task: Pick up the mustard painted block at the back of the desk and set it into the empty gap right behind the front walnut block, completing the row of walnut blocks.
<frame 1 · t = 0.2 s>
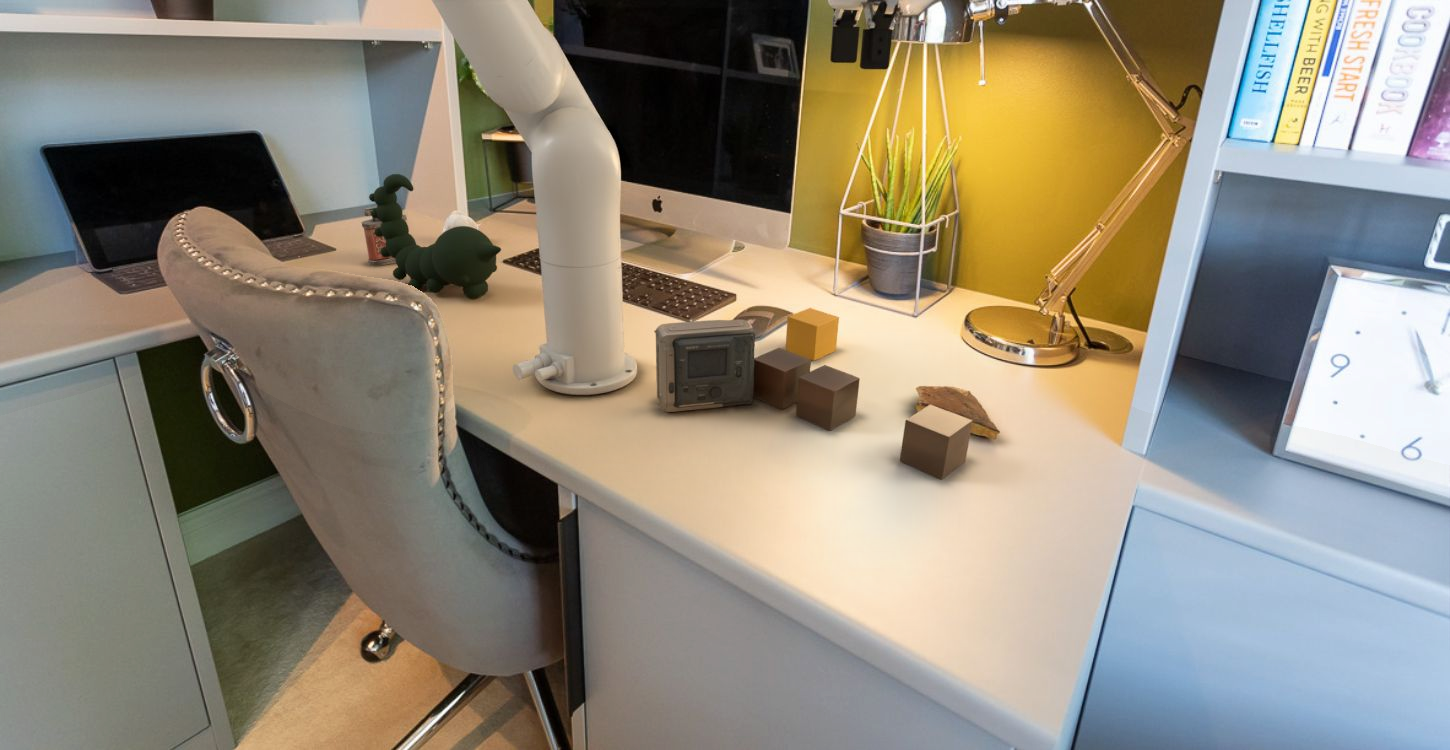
hand: (857, 65, 90), 37 cm above the table, tool pointing down, fingers open, 9 cm apart
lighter: (391, 261, 140), on the table
line block 2: (825, 416, 91), on the table
mustard block: (810, 350, 108), on the table
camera: (704, 405, 93), on the table
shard: (961, 415, 93), on the table
toy figurine: (445, 291, 127), on the table
line block 1: (932, 461, 83), on the table
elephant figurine: (464, 244, 151), on the table
line block 3: (779, 396, 95), on the table
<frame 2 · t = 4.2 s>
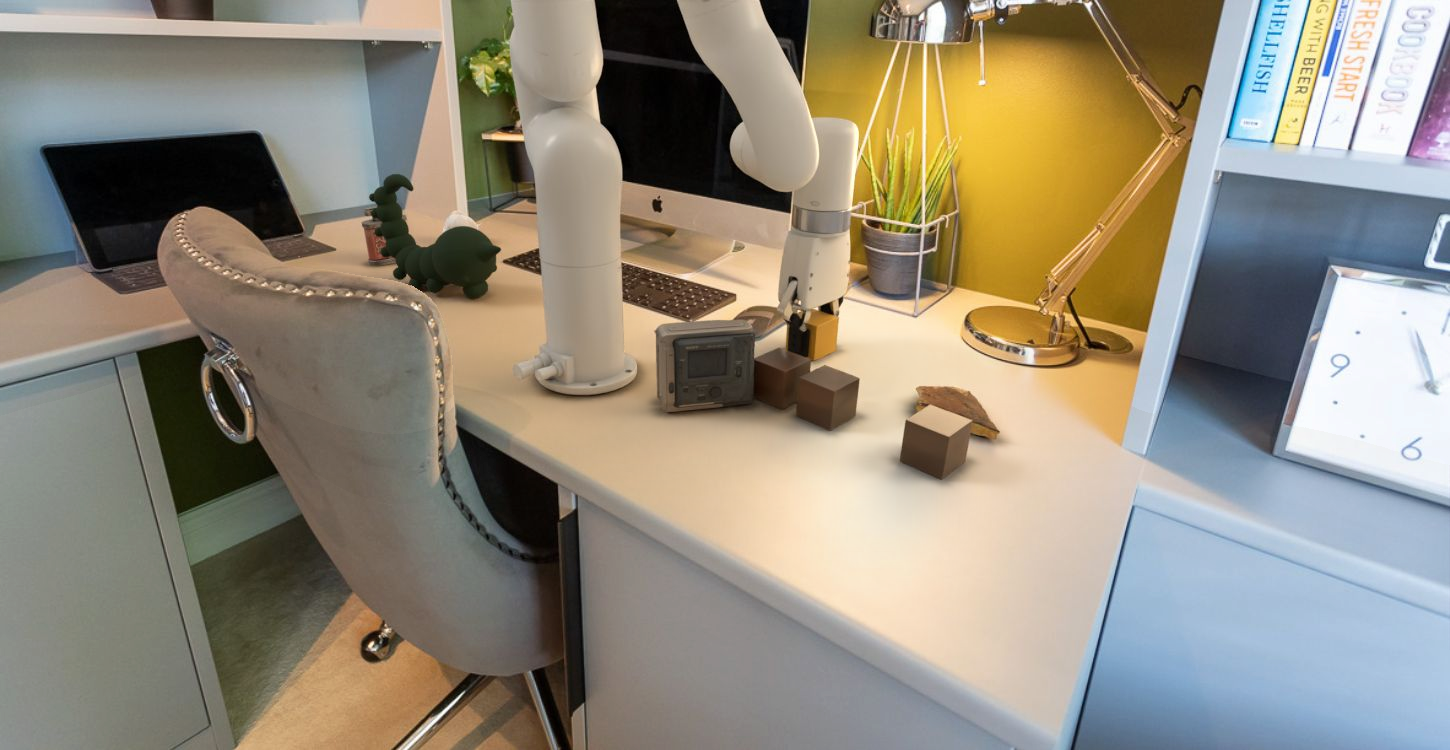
hand: (810, 347, 108), 0 cm above the table, tool pointing down, fingers closed on mustard block, 5 cm apart
mustard block: (810, 350, 108), on the table, touching gripper
everything else where it was.
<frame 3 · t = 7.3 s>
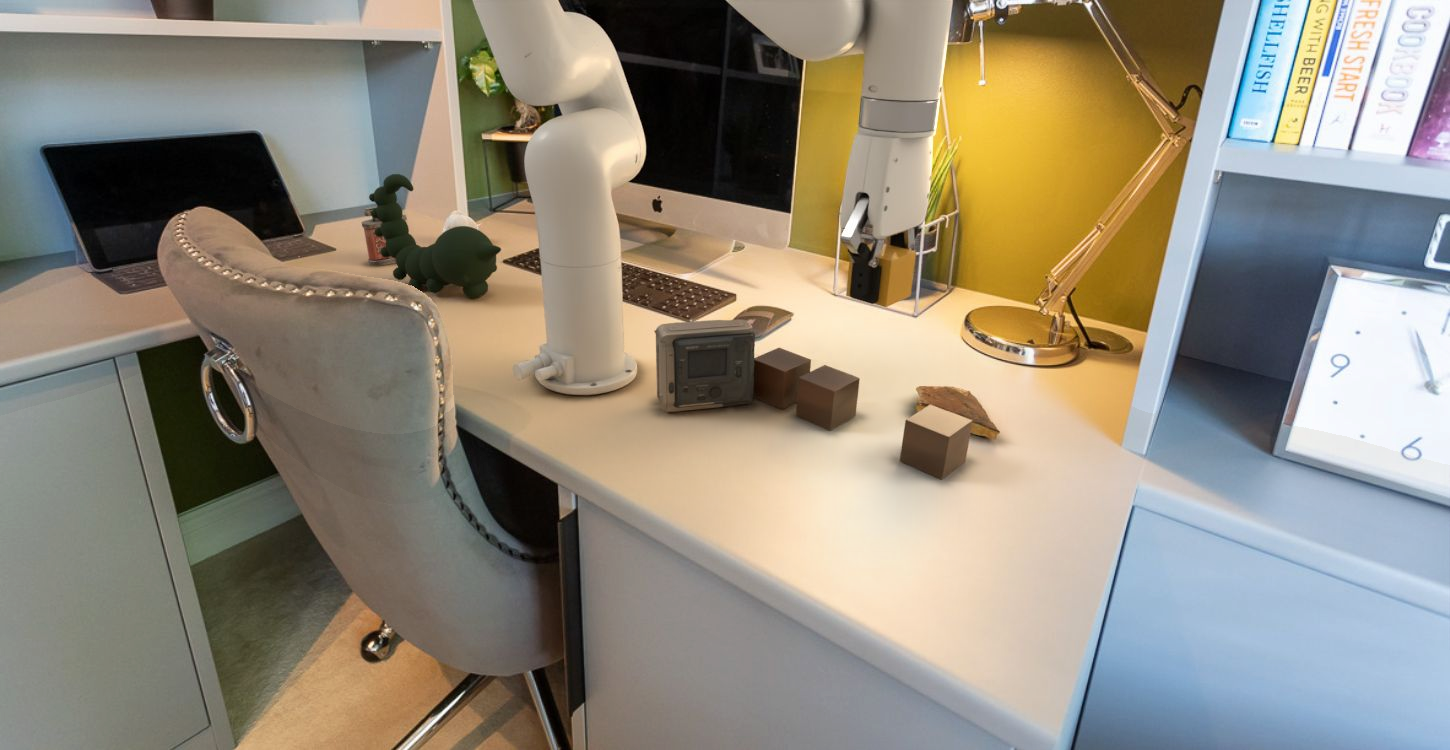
hand: (878, 292, 84), 16 cm above the table, tool pointing down, fingers closed on mustard block, 5 cm apart
mustard block: (878, 296, 84), point 15 cm above the table, touching gripper
everything else where it was.
when the fingers open (0 cm above the table, at t = 10.7 s): mustard block stays where it is, on the table.
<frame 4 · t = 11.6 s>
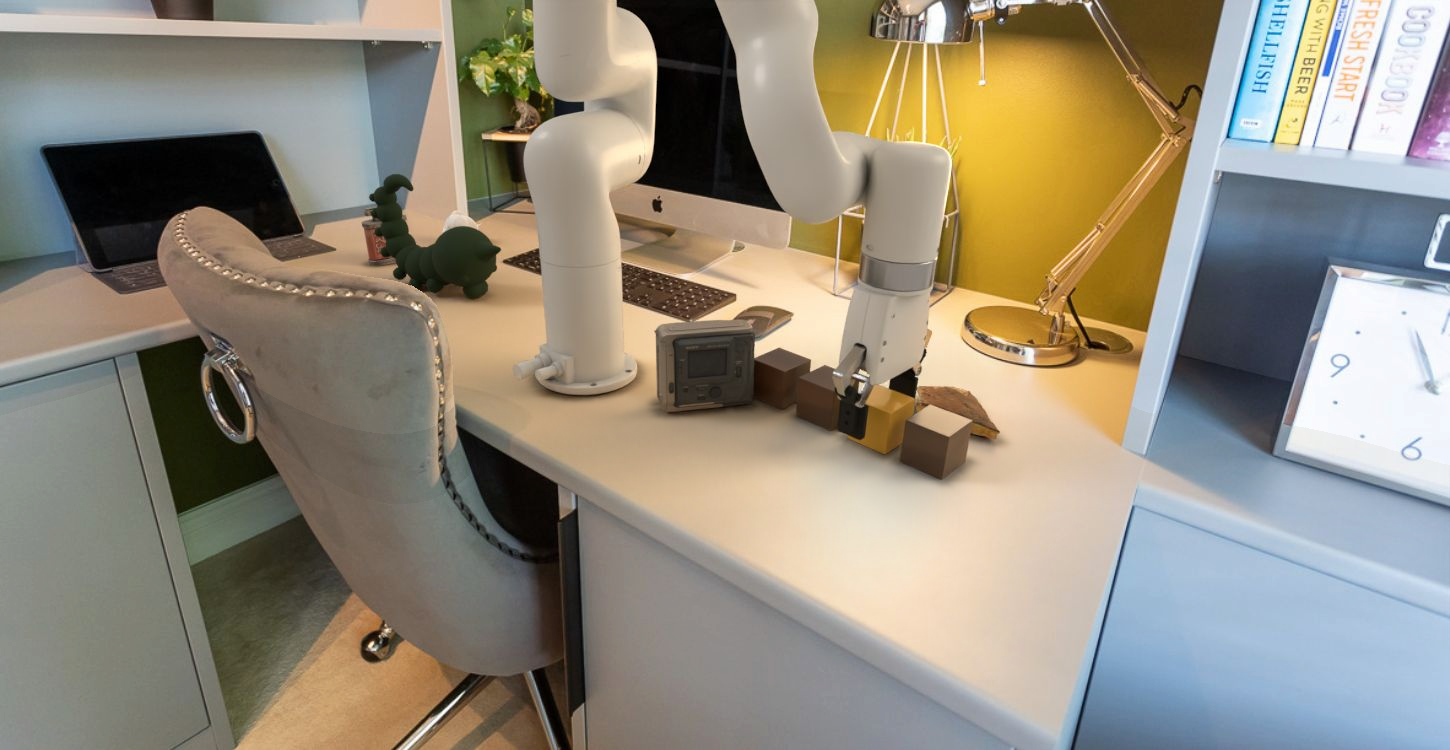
hand: (876, 419, 86), 2 cm above the table, tool pointing down, fingers open, 9 cm apart
mustard block: (878, 438, 87), on the table
everything else where it was.
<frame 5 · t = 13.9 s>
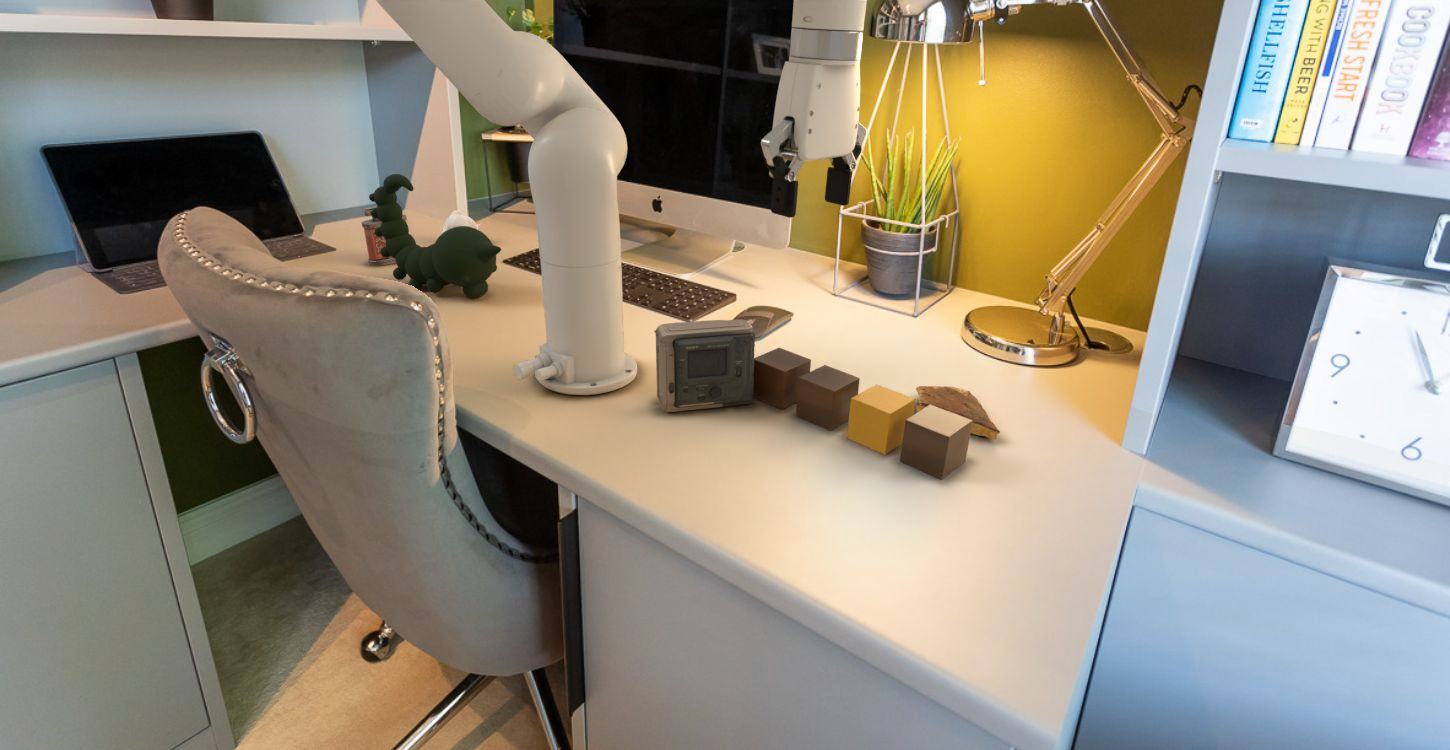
hand: (810, 208, 90), 22 cm above the table, tool pointing down, fingers open, 9 cm apart
nothing on the table moved.
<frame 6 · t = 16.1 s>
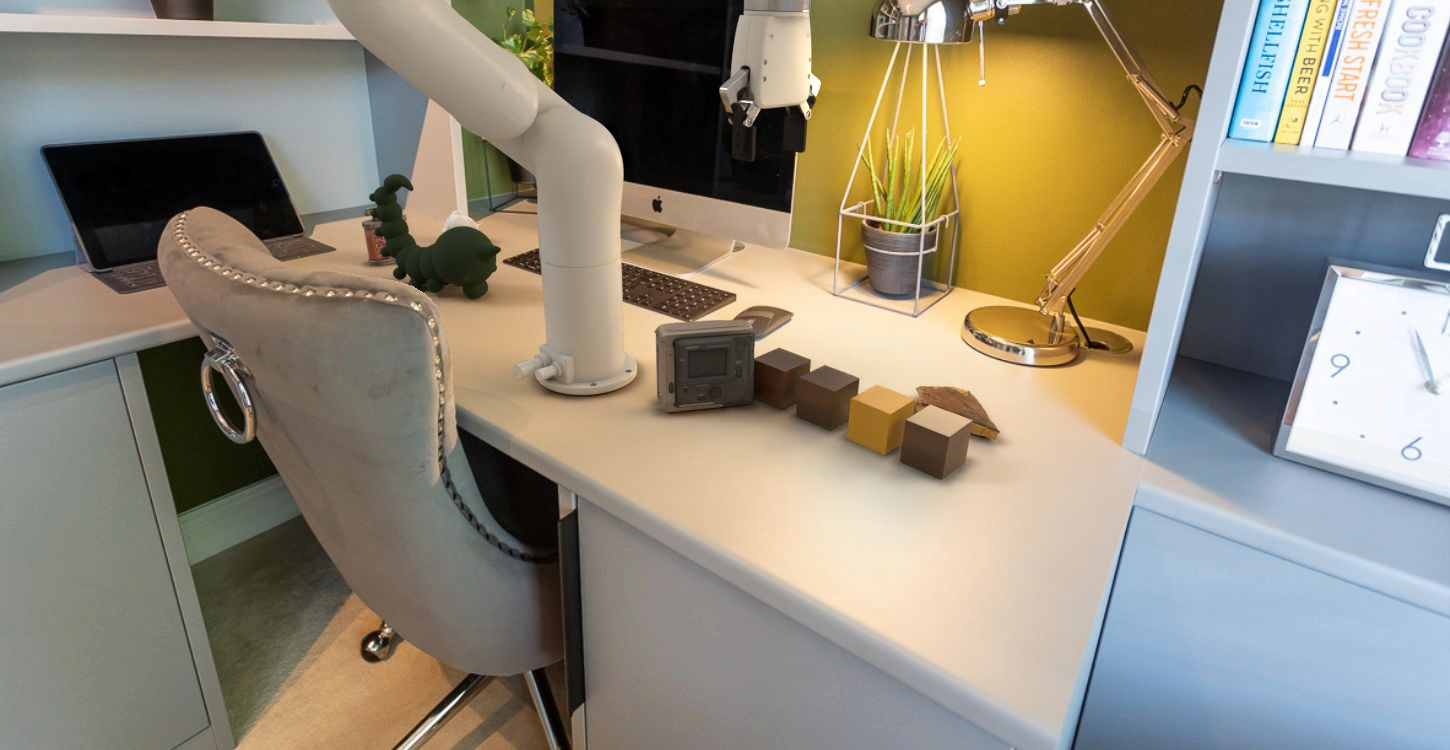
hand: (769, 155, 97), 26 cm above the table, tool pointing down, fingers open, 9 cm apart
nothing on the table moved.
at the end: mustard block 0.2 cm from the target spot on the table beside the line block 1, on the table; mustard block tilted 0°; line block 1 moved 0.0 cm from its start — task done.
